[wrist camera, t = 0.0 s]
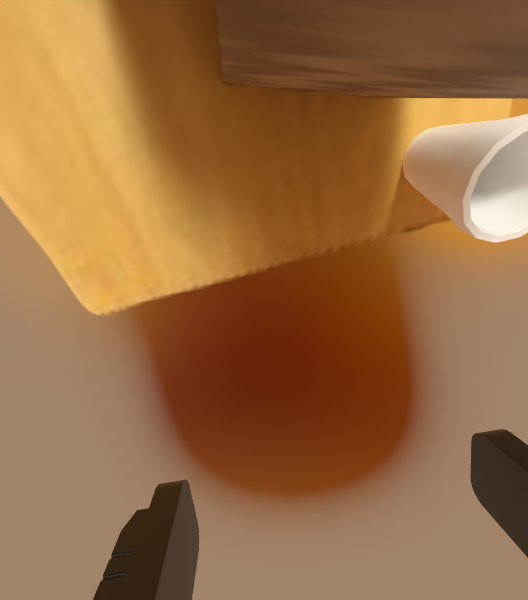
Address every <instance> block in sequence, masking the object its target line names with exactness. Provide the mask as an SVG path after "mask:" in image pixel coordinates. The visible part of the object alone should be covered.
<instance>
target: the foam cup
mask: <svg viewBox="0 0 528 600" xmlns="http://www.w3.org/2000/svg"><path fill="white" fill-rule="evenodd" d="M402 166H403V172H404V177H405V178H406V179H407V180H408V182H409V183H410V184H411V185H412V186H413V187H414V188H415V189H417V190H418V191H419V192H420V193H421V194H422V195H424V196H425V197H426V198H427V199H428V200H429V201H431V202H432V203H433V204H434V205H435V206H437V207H438V208H439V209H440V210H441V211H442V212H444V213H445V214H446V215H447V216H448V217H449V218H450V219H451V220H452V221H453V222H454V224H455V225H456V226H457V227H458V228H459V229H461V230H462V231H464V232H466V233H468V234H469V235H471V236H473V237H475V238H478V239H482V240H486V241H490V242H495V243H496V242H501V241H505V240H510V239H514V238H518V237H521V236H522V235H524V234H526V233H527V232H528V114H526V115H521V116H518V117H513V118H509V119H502V120H493V121H484V122H475V123H465V124H456V125H447V126H441V127H440V126H439V127H435V128H431V129H427V130H425V131H424V132H423V133H421V134H420V135H419V136H417V137H416V138H414V140H413V141H412V143H411V144H410V146H409V147H408V149H407V150H406V153H405V157H404V161H403V164H402Z"/></svg>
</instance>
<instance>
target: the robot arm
mask: <svg viewBox="0 0 528 600" xmlns="http://www.w3.org/2000/svg"><path fill="white" fill-rule="evenodd" d="M471 443H472V444H471V445H472V446H471V483H472V487H473V490H474V492H475V495H476V496H477V498H478V500H479V501H480V503H481V504H482V505H483V507H484V508H485V509H486V510H487V511H488V512H489V513H490V515H491V516H492V517H493V518H494V519H495V521H496V522H497V523H498V524H499V525H500V526H501V527H502V529H503V530H504V531H505V532H506V533H507V534H508V535H509V537H510V538H511V539H512V540H513V541H514V542H515V543H516V545H517V546H518V547H519V548H520V549H521V550H522V552H523V553H524V554H525V555H526V556H527V557H528V445H526V444H525V443H524V442H523V441H521V440H520V439H519V438H517V437H516V436H514V435H513V434H512V433H510V432H509V431H507V430H504V429H500V430H493V431H488V432H481V433H476V434H474V435H473V436H472V442H471ZM198 551H199V528H198V522H197V518H196V513H195V509H194V504H193V500H192V495H191V491H190V486H189V483H188V481H187V480H181V481H175V482H168V483H162V484H159V485H158V486H157V487H156V489H155V492H154V495H153V498H152V501H151V504H150V507H149V508H148V509H142V510H137V511H136V512H135V514H134V515H133V516H132V518H131V519H130V520H129V522H128V523H127V524H126V525H125V527H124V528H123V529H122V531H121V533H120V535H119V538H118V540H117V543H116V545H115V547H114V550H113V552H112V557H111V559H110V560H109V562H108V564H107V567H106V569H105V572H104V574H103V580H102V581H101V582H100V584H99V586H98V589H97V591H96V594H95V596H94V599H93V600H192V594H193V587H194V579H195V573H196V565H197V559H198Z"/></svg>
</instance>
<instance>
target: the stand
mask: <svg viewBox="0 0 528 600" xmlns="http://www.w3.org/2000/svg"><path fill="white" fill-rule="evenodd" d="M215 1H216V12H217V23H218V33H219V44H220V55H221V66H222V77H223V83H226V84H237V85H248V86H258V87H269V88H280V89H291V90H302V91H313V92H324V93H335V94H346V95H357V96H367V97H378V98H528V0H215Z"/></svg>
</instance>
